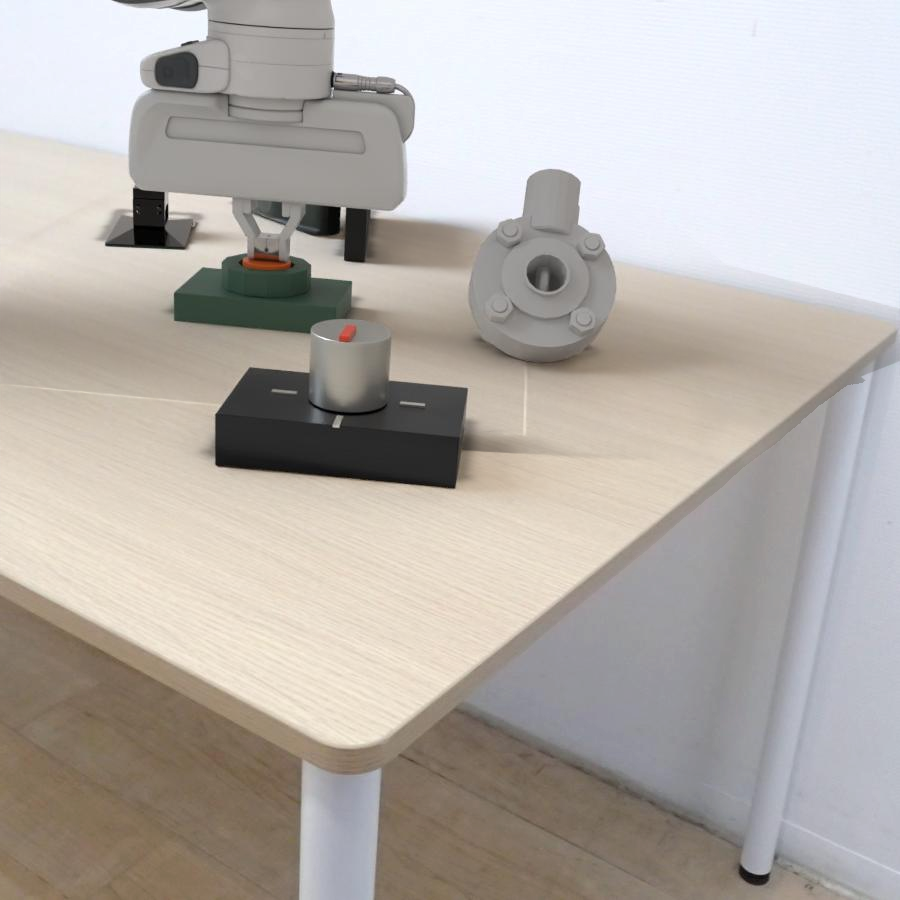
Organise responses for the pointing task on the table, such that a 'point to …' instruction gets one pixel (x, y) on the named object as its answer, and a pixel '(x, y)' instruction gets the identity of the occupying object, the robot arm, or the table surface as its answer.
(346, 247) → the nameplate
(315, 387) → the knob
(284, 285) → the button box
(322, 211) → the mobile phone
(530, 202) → the mechanical valve
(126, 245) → the build plate
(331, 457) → the dial panel
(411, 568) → the table surface
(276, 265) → the button
